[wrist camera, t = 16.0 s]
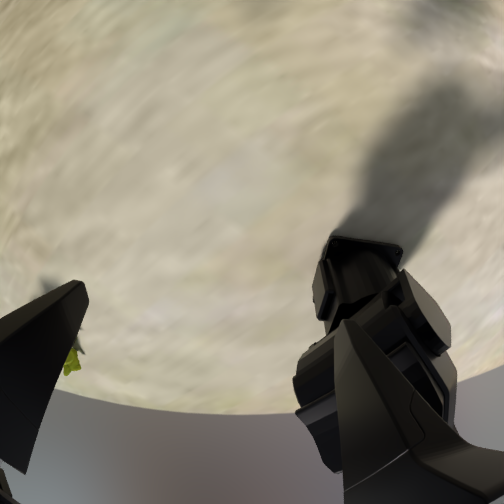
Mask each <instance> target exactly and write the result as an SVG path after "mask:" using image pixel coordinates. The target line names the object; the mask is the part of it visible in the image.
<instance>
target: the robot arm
mask: <svg viewBox="0 0 504 504" xmlns="http://www.w3.org/2000/svg"><path fill="white" fill-rule="evenodd" d="M333 241H337V243H336V244H332V242H333ZM397 250H399V251H398V252H397V253H395V252H396V251H397ZM402 254H403V250H402V248H401V247H400V246H399V245H394V244H387V243H381V242H374V241H368V240H361V239H354V238H348V237H341V236H331V237H330V238H329V239H328V242H327V246H326V250H325V254H324V258H323V260H322V259H321V260H320V261H319V262H318V265H317V269H316V273H315V277H314V281H313V284H312V289H313V302H314V303H315V309H316V317H317V319H318V320H319V321H324V325H325V332H326V336H325V337H324V338H323V339H321V340H320V341H319V342H317V343H316V342H315V343H314V344H312V345H311V346H310V347H309V349H308V351H306V352H305V353H303V354H302V356H301V358H300V359H299V361H298V364H297V370H296V375H295V376H294V377H293V379H292V380H293V387H294V392H295V395H296V398H297V401H298V403H299V405H300V407H301V408H300V409H298V410H296V411H295V414H296V415H297V417H298V418H299V419H300V420H301V421H302V422H303V423H304V424H305V425H306V427H307V428H308V430H309V431H310V433H311V435H312V436H313V438H314V440H315V443H316V445H317V447H318V450H319V453H320V455H321V458H322V461H323V463H324V464H325V465H326V466H327V467H328V468H329V469H330V470H331V471H332V472H334V473H336V474H339V473H342V472H343V486H344V504H504V452H502V451H497V450H492V449H486V448H482V447H477V446H474V445H472V444H470V443H468V442H466V441H465V440H464V439H463V438H462V437H460V436H459V434H458V431H457V430H456V427H455V425H454V415H455V404H456V390H457V370H456V368H455V366H454V364H453V362H452V360H451V359H450V357H449V355H448V353H447V351H446V350H447V349H449V348H450V347H451V325H450V323H449V321H448V320H447V318H446V316H445V315H444V313H443V312H442V310H441V309H440V307H439V305H438V304H437V302H436V301H435V300H434V299H433V298H432V297H431V296H430V295H429V294H428V293H427V292H426V290H425V289H424V288H423V287H422V286H421V285H420V284H419V283H418V282H417V281H416V280H415V279H414V278H413V277H412V276H411V275H410V274H409V273H408V272H407V271H406V270H405V269H403V270H402V271H399V270H398V268H397V267H398V265H399V262H400V260H401V257H402ZM88 305H89V298H88V294H87V291H86V287H85V284H84V283H83V282H82V281H78V280H72V281H70V282H68V283H66V284H64V285H62V286H60V287H58V288H56V289H54V290H52V291H50V292H48V293H46V294H45V295H43V296H41V297H39V298H37V299H35V300H33V301H31V302H29V303H28V304H26V305H24V306H22V307H20V308H18V309H17V310H15V311H13V312H11V313H9V314H7V315H6V316H4V317H2V318H1V319H0V467H1V464H2V462H3V461H4V462H6V463H7V464H9V465H10V466H12V467H13V468H15V469H16V470H18V471H20V472H21V473H23V474H24V475H25V474H26V472H27V468H28V465H29V461H30V457H31V454H32V451H33V447H34V444H35V441H36V437H37V434H38V431H39V430H38V429H39V428H40V425H41V422H42V419H43V416H44V413H45V410H46V408H47V405H48V403H49V400H50V397H51V395H52V392H53V390H54V387H55V385H56V382H57V380H58V378H59V375H60V373H61V371H62V368H63V366H64V364H65V361H66V359H67V357H68V355H69V352H70V350H71V348H72V346H73V344H74V342H75V339H76V337H77V334H78V332H79V329H80V326H81V323H82V321H83V318H84V315H85V313H86V310H87V308H88ZM0 504H20V503H19V502H17V501H16V500H14V499H13V498H12V494H11V491H10V488H9V485H8V483H7V480H6V477H5V473H4V471H3V469H1V468H0Z"/></svg>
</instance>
